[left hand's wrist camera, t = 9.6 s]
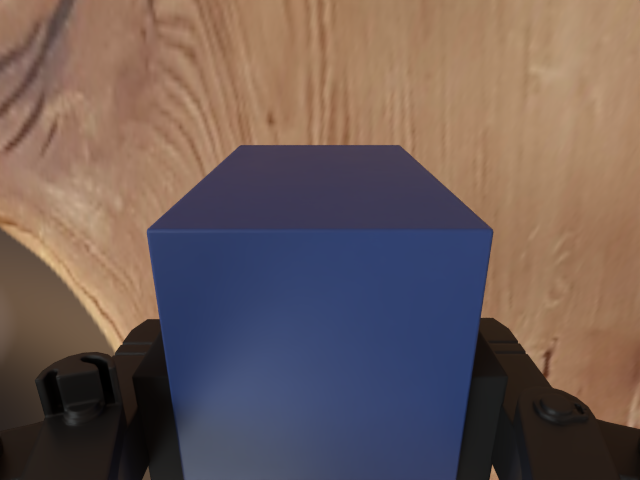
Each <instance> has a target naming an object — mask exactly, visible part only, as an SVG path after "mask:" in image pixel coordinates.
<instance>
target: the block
mask: <svg viewBox="0 0 640 480" xmlns="http://www.w3.org/2000/svg"><path fill="white" fill-rule="evenodd" d="M147 237H148V244H149V251H150V258H151V264H152V271H153V278H154V284H155V291H156V298H157V304H158V311H159V318H160V324H161V331H162V338H163V345H164V351H165V358H166V365H167V371H168V378H169V385H170V391H171V398H172V405H173V411H174V418H175V425H176V432H177V438H178V445H179V452H180V458H181V465H182V472H183V478H184V480H456V478H457V472H458V465H459V458H460V451H461V445H462V438H463V431H464V425H465V418H466V411H467V405H468V398H469V391H470V385H471V378H472V371H473V365H474V358H475V351H476V345H477V338H478V331H479V324H480V318H481V311H482V304H483V298H484V291H485V284H486V278H487V271H488V264H489V258H490V251H491V244H492V238H493V229H492V228H490V227H489V226H488V225H487V224H486V223H485V222H484V221H483V220H482V219H481V218H479V217H478V216H477V215H476V214H475V213H474V212H473V211H472V210H471V209H469V208H468V207H467V206H466V205H465V204H464V203H463V202H462V201H461V200H460V199H458V198H457V197H456V196H455V195H454V194H453V193H452V192H451V191H450V190H448V189H447V188H446V187H445V186H444V185H443V184H442V183H441V182H440V181H438V180H437V179H436V178H435V177H434V176H433V175H432V174H431V173H430V172H429V171H427V170H426V169H425V168H424V167H423V166H422V165H421V164H420V163H419V162H417V161H416V160H415V159H414V158H413V157H412V156H411V155H410V154H409V153H408V152H406V151H405V150H404V149H403V148H402V147H401V146H399V145H241V146H239V147H238V148H237V149H236V150H235V151H234V152H232V153H231V154H230V155H229V156H228V157H227V158H226V159H225V160H224V161H222V162H221V163H220V164H219V165H218V166H217V167H216V168H215V169H214V170H213V171H211V172H210V173H209V174H208V175H207V176H206V177H205V178H204V179H203V180H201V181H200V182H199V183H198V184H197V185H196V186H195V187H194V188H193V189H192V190H190V191H189V192H188V193H187V194H186V195H185V196H184V197H183V198H182V199H180V200H179V201H178V202H177V203H176V204H175V205H174V206H173V207H172V208H171V209H169V210H168V211H167V212H166V213H165V214H164V215H163V216H162V217H161V218H159V219H158V220H157V221H156V222H155V223H154V224H153V225H152V226H151V227H150V228H148V229H147Z"/></svg>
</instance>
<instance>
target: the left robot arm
mask: <svg viewBox="0 0 640 480" xmlns="http://www.w3.org/2000/svg"><path fill="white" fill-rule="evenodd" d="M525 352H526V351H525V350H524V349H523V347H522V346H521V345H520V344H518V341H517V339H516V338H515V336H514V335H513V334H512V332H511V331H510V330H509V328H507V327H506V326H504V325H503V324H501V323H500V322H498V321H497V320H495V319H494V318H480V324H479V331H478V338H477V345H476V351H475V358H474V365H473V371H472V378H471V385H470V391H469V398H468V405H467V411H466V418H465V425H464V431H463V438H462V445H461V451H460V458H459V465H458V472H457V478H456V480H489V479H490V473H491V468H492V464H493V467H494V469H495V471H496V473H497V476H498V478H499V480H640V429H636V428H632V427H627V426H623V425H618V424H614V423H609V422H605V421H602V420H598V419H596V418H595V416H594V415H593V413H592V412H591V410H590V409H589V407H588V406H587V405H585V404H584V403H583V402H582V401H580V400H579V399H578V398H576V397H574V396H572V395H570V394H568V393H566V392H564V391H562V390H558V389H554V388H552V387H551V385H550V384H549V383H548V381H547V380H546V378H545V377H544V376H543V374H542V373H541V372H540V370H539V369H538V368H537V366H536V365H535V364H534V362H533V361H532V359H531V358H530V357H529V355H528V354H526V353H525ZM35 383H36V386H37V390H38V393H39V397H40V400H41V404H42V407H43V411H44V414H45V419H44V421H41V422H38V423H35V424H30V425H26V426H21V427H17V428H13V429H8V430H3V431H0V480H142V479H143V476H144V474H145V472H146V469H147V467H148V466H149V472H150V477H151V480H184V478H183V472H182V465H181V458H180V452H179V445H178V438H177V432H176V425H175V418H174V411H173V405H172V398H171V391H170V385H169V378H168V371H167V365H166V358H165V351H164V345H163V338H162V331H161V324H160V319H147V320H146V321H144V322H143V323H141V324H140V325H138V326H137V327H136V328H134V329H133V330H131V332H130V333H129V335H128V336H127V337H126V339H125V340H124V341H123V345H120V347H119V348H118V350H117V351H116V352H115V356H112V357H111V356H109V355H108V354H104V353H99V352H89V353H81V354H77V355H73V356H68V357H66V358H64V359H62V360H59V361H57V362H55V363H53V364H52V365H50V366H49V367H47V368H46V369H44V370H43V371H42V372H41V373H40V374H39V376H38V377H37V378H36V379H35Z"/></svg>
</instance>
